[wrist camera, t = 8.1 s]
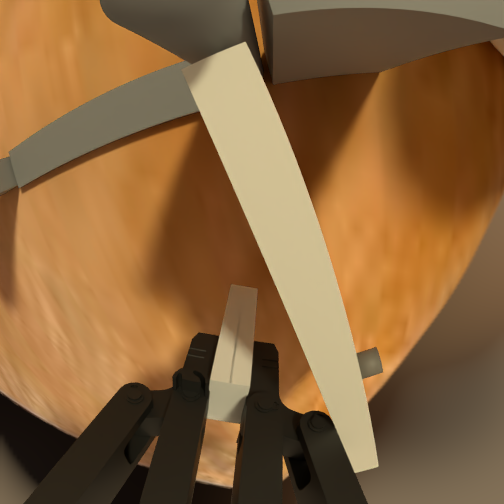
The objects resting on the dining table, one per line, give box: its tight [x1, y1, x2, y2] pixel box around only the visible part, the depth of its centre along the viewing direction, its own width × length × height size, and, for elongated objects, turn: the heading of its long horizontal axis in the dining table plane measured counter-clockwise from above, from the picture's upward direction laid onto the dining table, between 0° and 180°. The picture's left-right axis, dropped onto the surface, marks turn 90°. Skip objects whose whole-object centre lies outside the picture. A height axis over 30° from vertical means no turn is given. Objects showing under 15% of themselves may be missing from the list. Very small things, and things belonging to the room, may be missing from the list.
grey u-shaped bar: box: [0, 0, 504, 196], centre depth 9 cm, size 3×28×12 cm, turn 103°
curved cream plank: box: [181, 42, 383, 473], centre depth 12 cm, size 16×2×10 cm, turn 22°
